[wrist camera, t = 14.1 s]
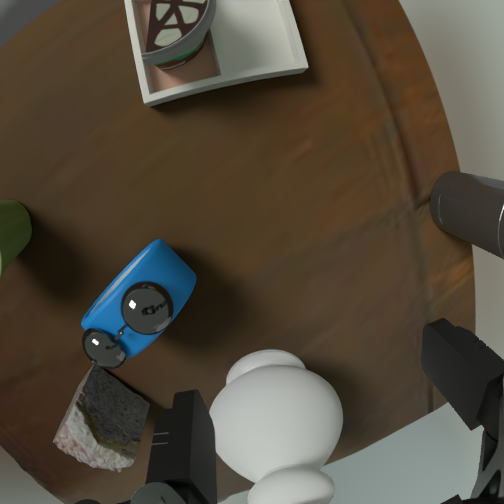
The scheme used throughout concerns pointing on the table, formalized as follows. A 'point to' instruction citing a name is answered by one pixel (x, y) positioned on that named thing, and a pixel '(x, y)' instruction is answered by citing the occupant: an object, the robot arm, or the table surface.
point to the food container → (177, 31)
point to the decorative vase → (278, 428)
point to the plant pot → (13, 231)
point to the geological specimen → (103, 422)
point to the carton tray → (223, 49)
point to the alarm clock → (137, 306)
